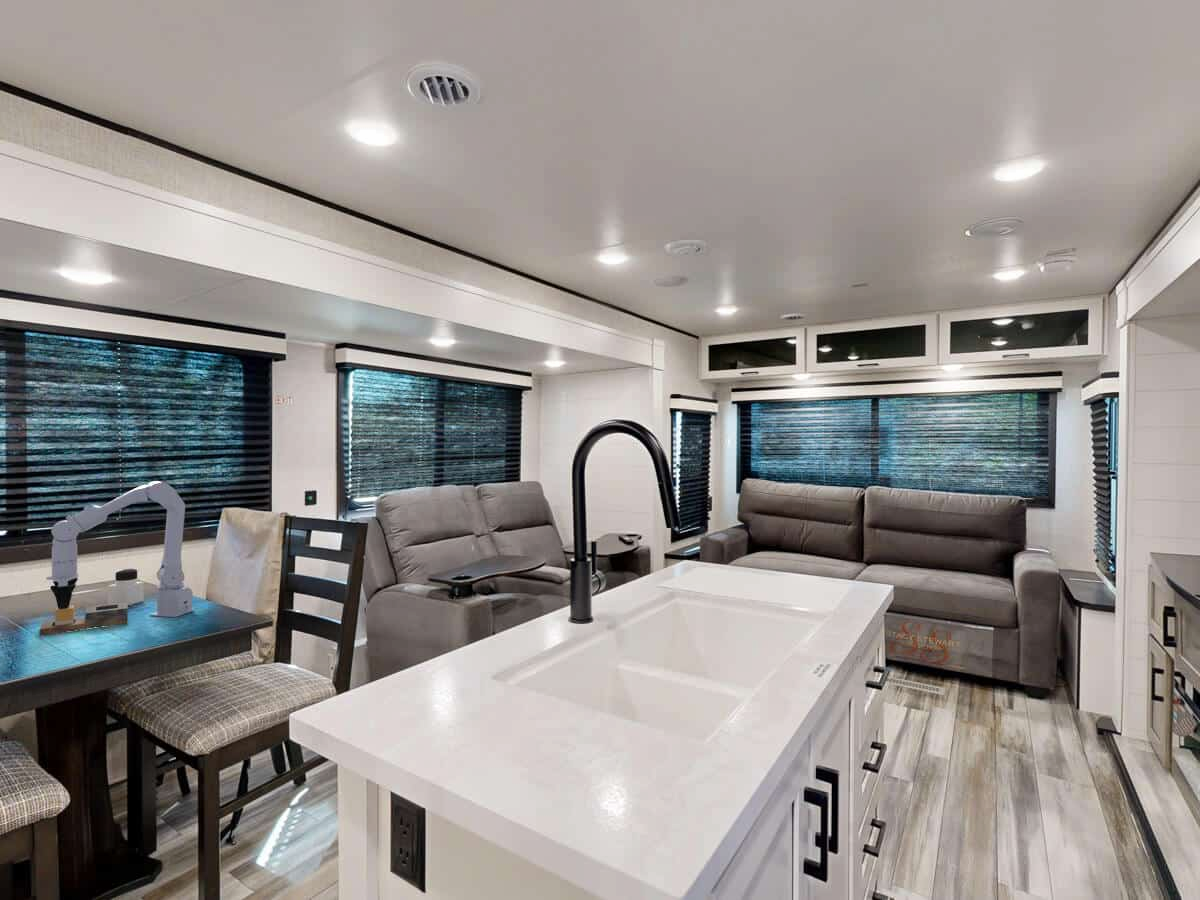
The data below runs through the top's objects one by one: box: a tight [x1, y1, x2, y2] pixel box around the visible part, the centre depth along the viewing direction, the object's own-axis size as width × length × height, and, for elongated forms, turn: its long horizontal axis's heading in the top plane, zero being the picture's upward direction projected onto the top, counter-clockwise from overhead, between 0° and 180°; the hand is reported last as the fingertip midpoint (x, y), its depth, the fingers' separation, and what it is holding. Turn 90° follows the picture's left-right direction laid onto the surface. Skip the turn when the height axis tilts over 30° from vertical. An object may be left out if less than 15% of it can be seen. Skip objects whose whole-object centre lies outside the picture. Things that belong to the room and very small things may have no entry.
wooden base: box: [39, 602, 129, 637], centre depth 183 cm, size 20×9×5 cm, turn 129°
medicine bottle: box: [107, 568, 145, 606], centre depth 209 cm, size 7×7×12 cm
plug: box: [54, 604, 75, 626], centre depth 180 cm, size 4×4×6 cm
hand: (64, 605), depth 180 cm, fingers open, 7 cm apart
